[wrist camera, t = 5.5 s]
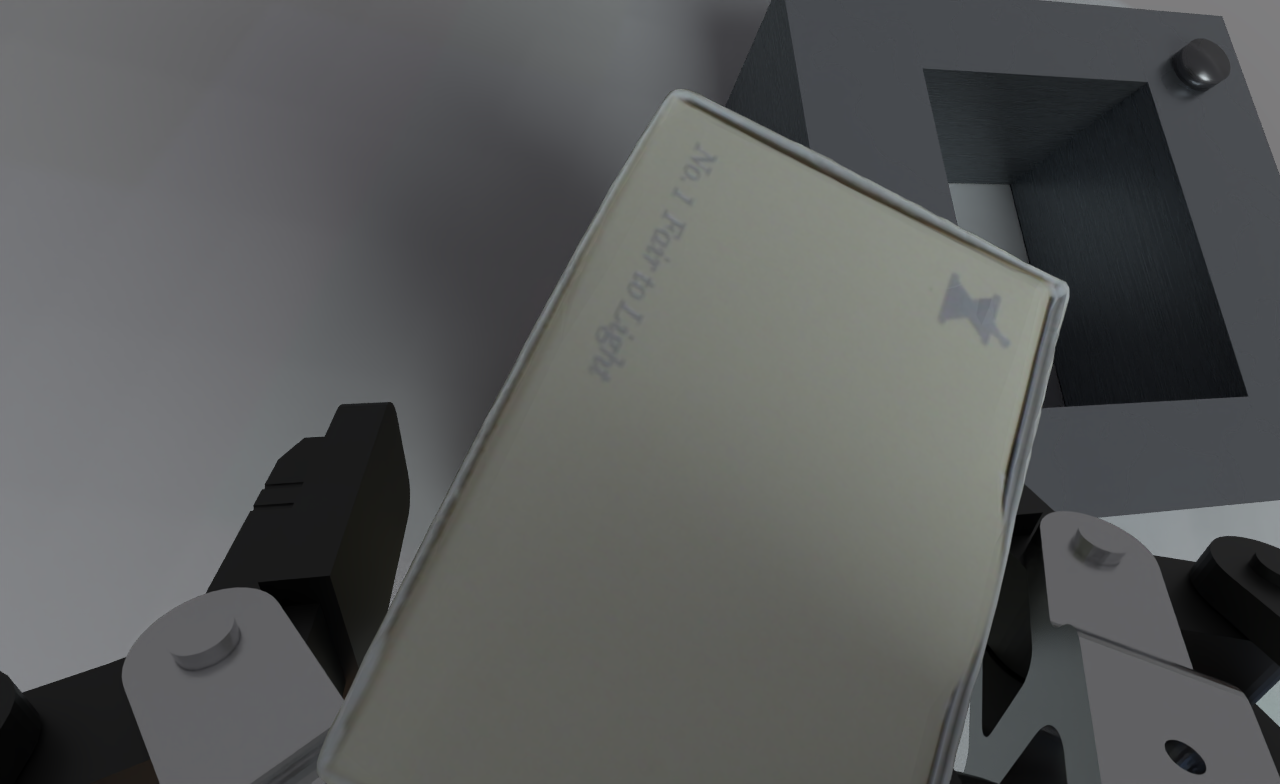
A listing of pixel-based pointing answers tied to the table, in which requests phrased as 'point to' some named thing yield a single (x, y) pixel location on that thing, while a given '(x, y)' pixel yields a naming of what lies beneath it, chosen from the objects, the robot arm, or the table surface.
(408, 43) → the table surface
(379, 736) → the skincare box
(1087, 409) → the housing
